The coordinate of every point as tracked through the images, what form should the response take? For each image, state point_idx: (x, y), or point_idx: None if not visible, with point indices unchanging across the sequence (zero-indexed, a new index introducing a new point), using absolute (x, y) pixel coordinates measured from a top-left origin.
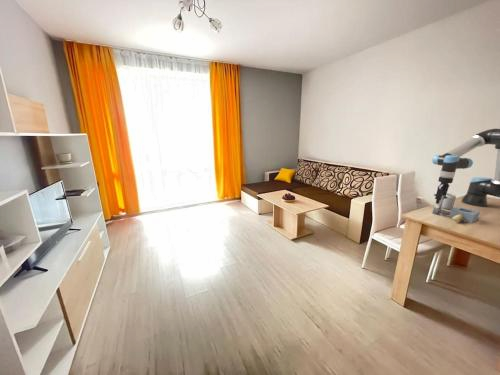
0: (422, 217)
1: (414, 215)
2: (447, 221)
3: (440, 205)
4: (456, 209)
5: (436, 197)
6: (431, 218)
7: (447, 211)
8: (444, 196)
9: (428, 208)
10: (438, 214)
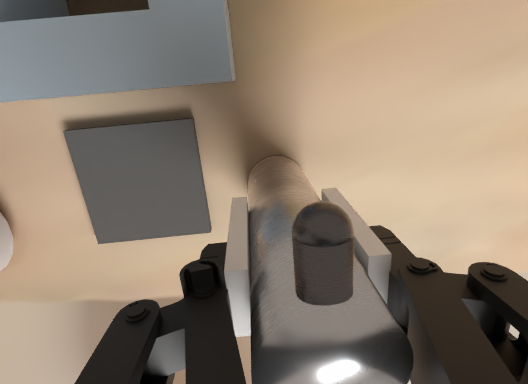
0: (509, 181)
1: (511, 234)
2: (422, 11)
3: (313, 199)
4: (166, 29)
5: (505, 335)
6: (467, 132)
7: (92, 159)
8: (351, 293)
9: (179, 284)
10: (284, 157)
